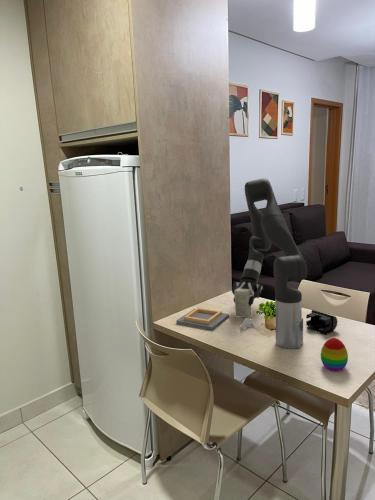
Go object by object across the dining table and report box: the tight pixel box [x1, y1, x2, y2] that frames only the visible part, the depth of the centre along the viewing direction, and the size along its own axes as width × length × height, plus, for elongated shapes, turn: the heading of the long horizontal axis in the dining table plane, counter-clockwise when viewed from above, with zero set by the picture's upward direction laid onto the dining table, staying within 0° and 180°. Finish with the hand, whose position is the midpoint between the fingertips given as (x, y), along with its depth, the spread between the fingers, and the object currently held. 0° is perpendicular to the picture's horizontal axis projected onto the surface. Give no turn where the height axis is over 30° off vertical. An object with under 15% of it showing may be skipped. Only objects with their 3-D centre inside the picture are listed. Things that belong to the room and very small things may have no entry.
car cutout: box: [240, 317, 255, 331], centre depth 155 cm, size 15×7×4 cm, turn 123°
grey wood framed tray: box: [175, 307, 230, 331], centre depth 167 cm, size 18×16×3 cm
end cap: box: [305, 309, 338, 336], centre depth 151 cm, size 10×7×7 cm
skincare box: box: [233, 287, 253, 319], centre depth 169 cm, size 6×4×12 cm
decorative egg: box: [320, 337, 349, 372], centre depth 121 cm, size 8×8×10 cm
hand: (242, 303), depth 168 cm, fingers closed on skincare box, 6 cm apart
